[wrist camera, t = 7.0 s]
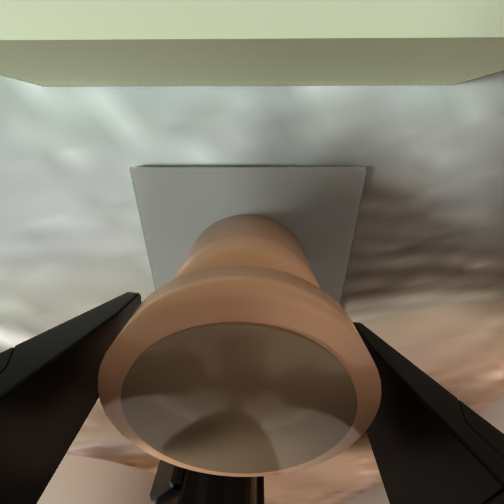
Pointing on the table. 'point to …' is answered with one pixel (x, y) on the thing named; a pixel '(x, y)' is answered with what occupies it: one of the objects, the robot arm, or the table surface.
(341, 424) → the terracotta pot
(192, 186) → the slate pad
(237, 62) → the pale green square tray
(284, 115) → the table surface
